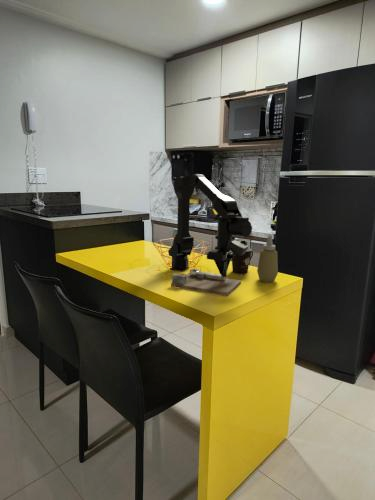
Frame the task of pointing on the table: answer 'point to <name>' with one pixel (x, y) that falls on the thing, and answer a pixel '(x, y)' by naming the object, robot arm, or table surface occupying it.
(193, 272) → the lever
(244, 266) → the coffee mug
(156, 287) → the table surface
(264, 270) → the squeeze bottle
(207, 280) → the base
